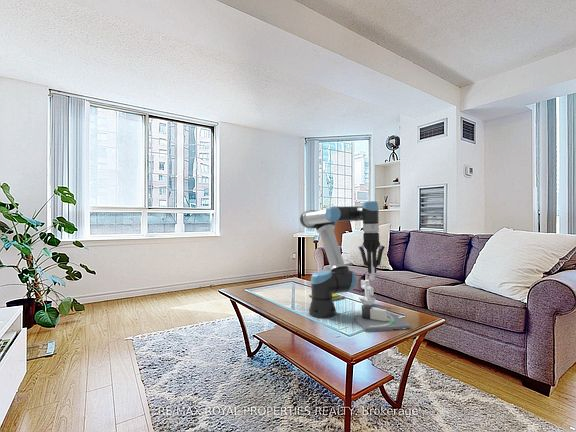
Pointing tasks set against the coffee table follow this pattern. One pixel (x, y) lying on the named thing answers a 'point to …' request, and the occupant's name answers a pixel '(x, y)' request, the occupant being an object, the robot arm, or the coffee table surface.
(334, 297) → the wooden puzzle
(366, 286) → the white faucet
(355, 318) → the tuner board
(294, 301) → the coffee table surface
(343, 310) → the coffee table surface
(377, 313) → the white and grey lever
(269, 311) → the coffee table surface
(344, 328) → the coffee table surface
